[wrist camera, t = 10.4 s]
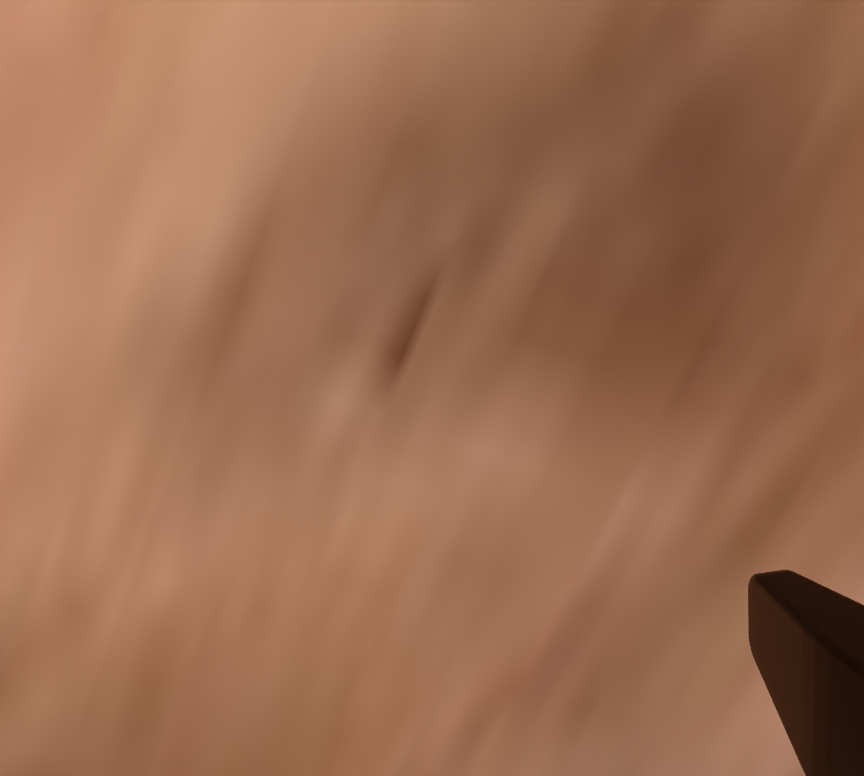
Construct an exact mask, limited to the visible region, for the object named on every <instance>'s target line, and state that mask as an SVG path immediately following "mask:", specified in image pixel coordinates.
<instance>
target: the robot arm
mask: <svg viewBox="0 0 864 776" xmlns="http://www.w3.org/2000/svg"><path fill="white" fill-rule="evenodd" d="M748 618H749V642H750V647H751V651H752V654H753V657H754V659H755V662H756V664H757V666H758V669H759V671H760V673H761V675H762V678H763V680H764V682H765V685H766V687H767V689H768V691H769V694H770V696H771V698H772V700H773V703H774V705H775V707H776V710H777V712H778V714H779V716H780V719H781V721H782V723H783V725H784V728H785V730H786V732H787V735H788V737H789V739H790V741H791V744H792V746H793V748H794V750H795V753H796V755H797V757H798V760H799V762H800V764H801V766H802V768H803V771H804V773H805V775H806V776H864V605H862V604H860V603H858V602H856V601H854V600H852V599H850V598H848V597H845V596H843V595H841V594H839V593H837V592H835V591H833V590H831V589H829V588H827V587H824V586H822V585H820V584H818V583H816V582H814V581H812V580H810V579H808V578H806V577H803V576H801V575H799V574H797V573H795V572H792V571H790V570H779V571H772V572H765V573H758V574H754V575H753V576H752V577H751V578H750V581H749V585H748Z"/></svg>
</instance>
